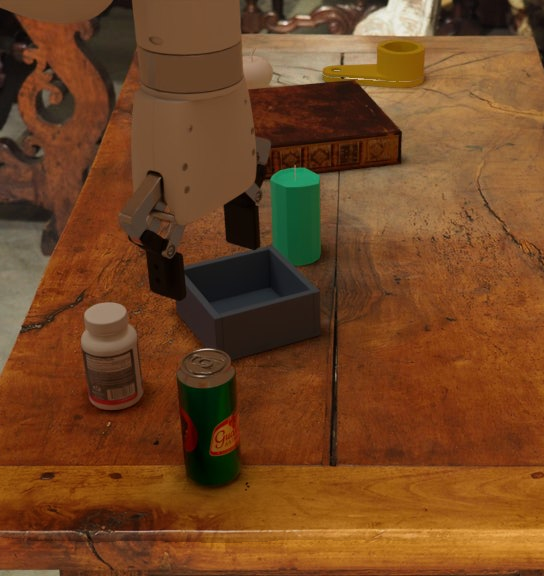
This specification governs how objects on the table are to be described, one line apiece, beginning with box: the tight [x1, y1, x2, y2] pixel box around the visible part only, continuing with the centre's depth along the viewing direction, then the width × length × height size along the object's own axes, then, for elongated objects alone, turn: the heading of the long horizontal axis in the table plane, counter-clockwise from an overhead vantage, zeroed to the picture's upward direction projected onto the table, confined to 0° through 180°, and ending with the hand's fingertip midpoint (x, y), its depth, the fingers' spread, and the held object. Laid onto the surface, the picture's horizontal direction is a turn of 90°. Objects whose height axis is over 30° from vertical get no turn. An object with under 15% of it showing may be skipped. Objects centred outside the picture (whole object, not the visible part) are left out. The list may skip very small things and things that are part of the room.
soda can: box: [175, 348, 243, 488], centre depth 94 cm, size 5×5×12 cm
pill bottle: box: [80, 302, 144, 411], centre depth 104 cm, size 5×5×10 cm
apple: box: [242, 47, 274, 89], centre depth 182 cm, size 7×7×8 cm
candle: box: [269, 165, 322, 267], centre depth 130 cm, size 6×6×12 cm
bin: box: [175, 244, 322, 362], centre depth 118 cm, size 12×12×6 cm
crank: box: [322, 39, 426, 89], centre depth 190 cm, size 18×8×6 cm, turn 91°
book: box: [248, 80, 403, 180], centre depth 163 cm, size 30×24×5 cm
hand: (207, 269), depth 87 cm, fingers open, 9 cm apart
